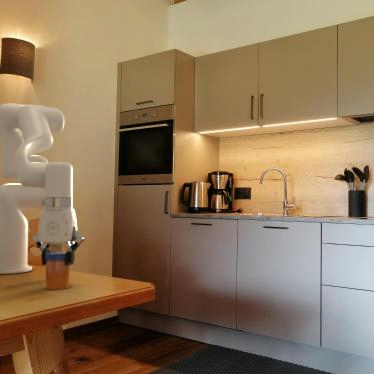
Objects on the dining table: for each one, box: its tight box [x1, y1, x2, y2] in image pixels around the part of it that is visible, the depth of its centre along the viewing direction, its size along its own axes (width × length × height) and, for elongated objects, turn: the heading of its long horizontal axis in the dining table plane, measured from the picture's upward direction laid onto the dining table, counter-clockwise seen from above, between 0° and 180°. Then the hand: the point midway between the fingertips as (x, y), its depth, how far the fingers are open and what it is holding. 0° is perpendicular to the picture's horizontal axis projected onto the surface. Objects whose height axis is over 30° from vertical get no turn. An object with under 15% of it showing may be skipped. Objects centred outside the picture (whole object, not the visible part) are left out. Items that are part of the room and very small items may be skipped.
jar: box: [45, 259, 71, 291], centre depth 124 cm, size 6×6×9 cm
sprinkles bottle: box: [49, 243, 65, 252], centre depth 138 cm, size 5×5×13 cm
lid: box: [45, 250, 67, 260], centre depth 124 cm, size 7×7×2 cm
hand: (58, 264), depth 124 cm, fingers closed on lid, 6 cm apart
